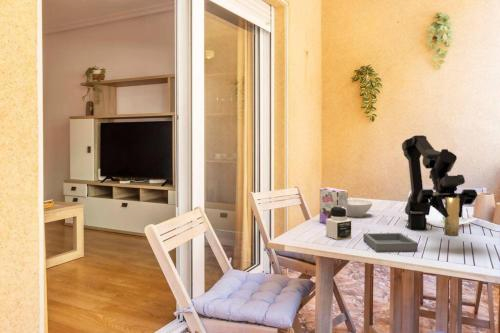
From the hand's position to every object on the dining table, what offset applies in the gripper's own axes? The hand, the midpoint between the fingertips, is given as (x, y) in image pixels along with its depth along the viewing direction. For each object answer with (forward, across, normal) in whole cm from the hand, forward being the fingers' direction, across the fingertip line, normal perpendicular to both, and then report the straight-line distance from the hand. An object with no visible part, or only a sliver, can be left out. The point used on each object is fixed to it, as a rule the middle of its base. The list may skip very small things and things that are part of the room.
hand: (453, 216), depth 132 cm
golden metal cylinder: (+4, 0, +6) cm, 7 cm away
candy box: (-20, -35, +39) cm, 56 cm away
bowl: (-35, -21, +53) cm, 67 cm away
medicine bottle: (-5, -36, +23) cm, 43 cm away
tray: (+4, -19, +14) cm, 24 cm away
